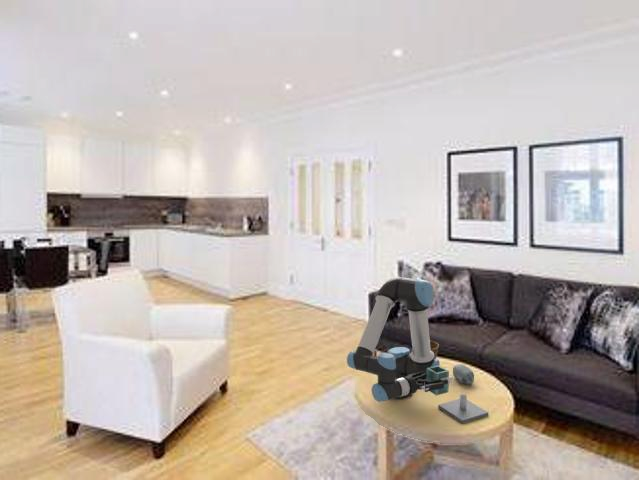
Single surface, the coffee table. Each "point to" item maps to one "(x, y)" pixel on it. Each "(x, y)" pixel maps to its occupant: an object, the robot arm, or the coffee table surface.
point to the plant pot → (434, 348)
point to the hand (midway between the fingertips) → (445, 375)
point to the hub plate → (462, 413)
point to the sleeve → (437, 378)
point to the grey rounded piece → (463, 374)
